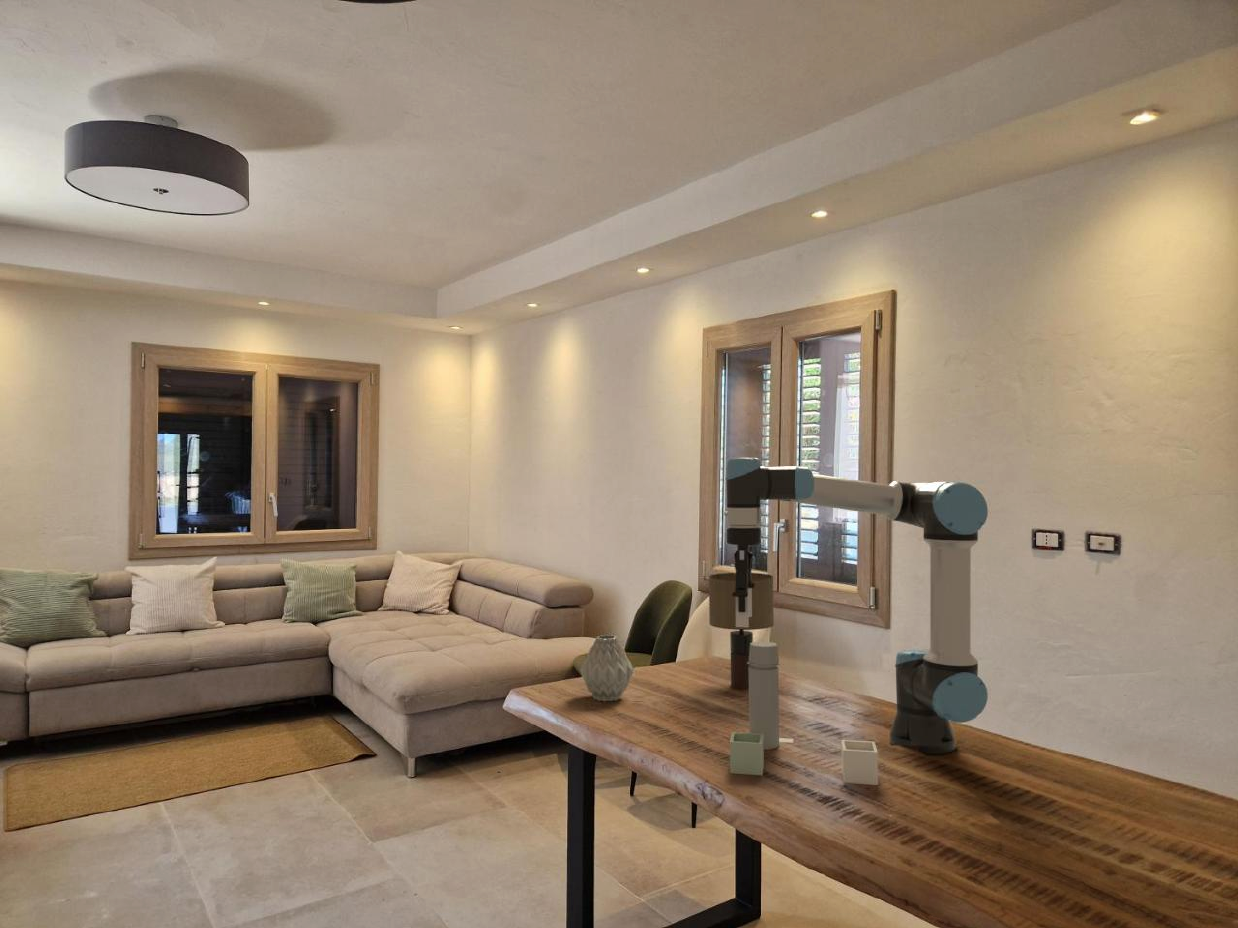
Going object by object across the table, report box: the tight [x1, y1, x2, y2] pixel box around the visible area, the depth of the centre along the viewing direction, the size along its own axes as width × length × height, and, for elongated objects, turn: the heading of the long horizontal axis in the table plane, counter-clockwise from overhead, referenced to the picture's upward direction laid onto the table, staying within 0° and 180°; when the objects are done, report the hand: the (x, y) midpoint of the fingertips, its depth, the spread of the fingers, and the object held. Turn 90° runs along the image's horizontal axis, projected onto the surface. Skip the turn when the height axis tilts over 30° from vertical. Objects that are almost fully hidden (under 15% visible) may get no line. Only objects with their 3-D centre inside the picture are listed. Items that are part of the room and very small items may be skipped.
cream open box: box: [840, 739, 879, 786], centre depth 173 cm, size 7×7×8 cm
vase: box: [579, 634, 635, 702], centre depth 243 cm, size 16×16×18 cm
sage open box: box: [729, 731, 765, 776], centre depth 179 cm, size 7×7×8 cm
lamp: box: [708, 572, 775, 690], centre depth 255 cm, size 20×20×35 cm
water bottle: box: [747, 641, 781, 750], centre depth 196 cm, size 9×8×25 cm
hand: (744, 621), depth 180 cm, fingers open, 13 cm apart
